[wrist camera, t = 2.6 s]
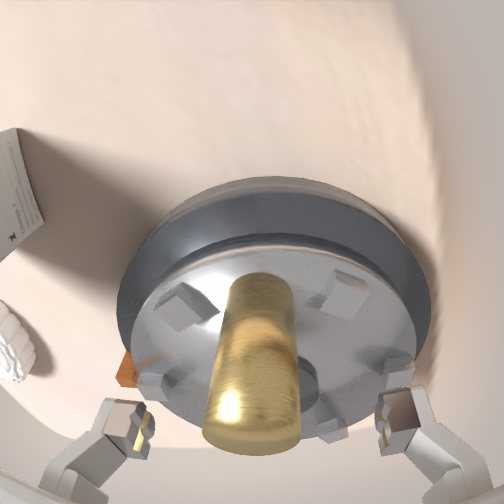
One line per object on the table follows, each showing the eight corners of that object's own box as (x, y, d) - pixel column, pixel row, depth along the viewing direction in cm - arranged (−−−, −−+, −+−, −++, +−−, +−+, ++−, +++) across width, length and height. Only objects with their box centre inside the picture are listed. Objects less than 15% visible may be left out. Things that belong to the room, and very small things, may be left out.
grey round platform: (92, 203, 18) (44, 248, 13) (430, 164, 16) (481, 202, 11) (179, 400, 28) (167, 449, 23) (393, 386, 26) (405, 436, 21)
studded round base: (101, 250, 16) (12, 375, 9) (425, 218, 14) (522, 350, 7) (184, 420, 24) (165, 512, 17) (385, 408, 22) (403, 504, 15)
